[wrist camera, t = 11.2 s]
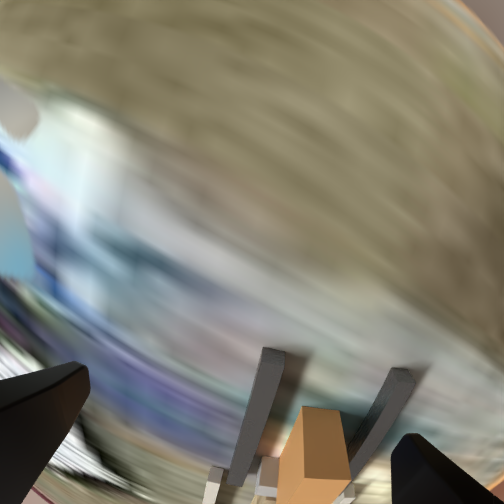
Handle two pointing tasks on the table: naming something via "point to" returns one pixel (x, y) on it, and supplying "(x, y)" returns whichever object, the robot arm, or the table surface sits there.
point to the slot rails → (360, 447)
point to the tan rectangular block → (308, 462)
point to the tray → (216, 474)
